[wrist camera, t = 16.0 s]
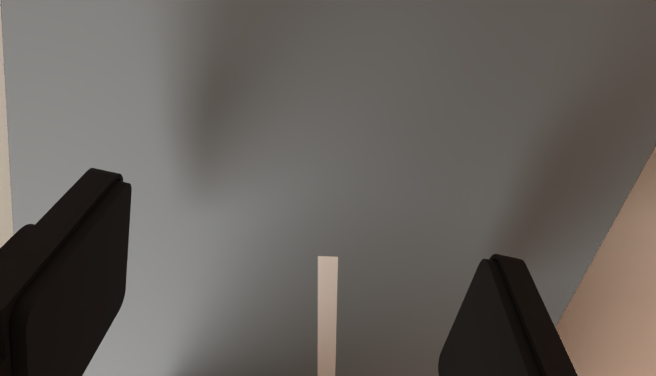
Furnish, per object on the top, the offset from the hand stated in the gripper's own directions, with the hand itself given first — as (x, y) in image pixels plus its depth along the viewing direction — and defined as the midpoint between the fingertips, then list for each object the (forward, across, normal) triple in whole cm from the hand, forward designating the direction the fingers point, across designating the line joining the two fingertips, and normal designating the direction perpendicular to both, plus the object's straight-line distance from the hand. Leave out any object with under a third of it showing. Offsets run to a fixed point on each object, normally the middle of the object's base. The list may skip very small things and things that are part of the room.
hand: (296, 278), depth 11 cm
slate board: (+4, 0, +9) cm, 10 cm away
